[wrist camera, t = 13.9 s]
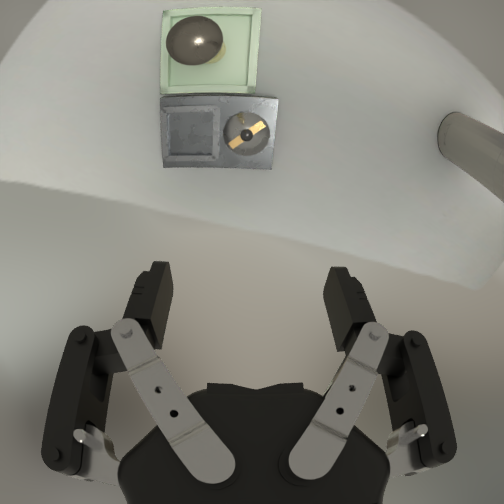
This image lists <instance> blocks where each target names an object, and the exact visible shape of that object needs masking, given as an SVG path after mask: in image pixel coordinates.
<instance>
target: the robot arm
mask: <svg viewBox="0 0 504 504" xmlns="http://www.w3.org/2000/svg"><path fill="white" fill-rule="evenodd" d="M438 143H439V148H440V151H441V153H442V154H443V155H444V157H445V158H447V159H448V160H450V161H451V162H453V163H454V164H455V165H457V166H458V167H459V168H461V169H462V170H464V171H465V172H466V173H468V174H469V175H470V176H472V177H473V178H474V179H476V180H477V181H478V182H480V183H481V184H482V185H483V186H485V187H486V188H487V189H488V190H490V191H491V192H492V193H493V194H494V195H495V196H497V197H498V198H499V199H500V200H501V201H503V202H504V134H503V133H501V132H499V131H497V130H495V129H494V128H492V127H490V126H488V125H486V124H483V123H481V122H479V121H477V120H475V119H473V118H471V117H468V116H466V115H464V114H461V113H457V112H456V113H451V114H449V115H448V116H447V117H446V118H445V119H444V120H443V122H442V124H441V126H440V129H439V133H438ZM172 297H173V281H172V276H171V270H170V265H169V262H162V261H154V262H153V263H152V266H151V269H150V271H143V273H141V274H140V275H139V277H138V278H137V279H136V282H135V285H134V288H133V290H132V294H131V296H130V298H129V301H128V304H127V307H126V310H125V313H124V316H123V318H122V319H121V320H119V321H118V322H116V323H115V324H114V325H113V327H112V329H109V330H104V331H98V332H94V331H93V330H92V329H91V328H90V327H88V326H79V327H77V328H75V329H74V330H72V332H71V333H70V335H69V337H68V340H67V343H66V346H65V349H64V352H63V356H62V359H61V362H60V365H59V369H58V372H57V376H56V380H55V383H54V387H53V391H52V395H51V400H50V405H49V409H48V413H47V419H46V423H45V429H44V435H43V441H42V448H41V455H42V458H43V461H44V463H45V464H46V465H47V466H48V467H49V468H50V469H52V470H55V471H57V472H60V473H62V474H64V475H66V476H70V477H73V478H76V479H82V480H86V481H99V482H102V483H106V484H110V485H115V486H120V488H121V490H122V492H123V494H124V496H125V498H126V501H127V504H382V501H383V495H384V491H385V488H386V485H387V482H388V480H389V479H390V478H393V477H397V476H401V475H405V476H411V475H414V474H417V473H420V472H423V471H426V470H429V469H431V468H434V467H437V466H439V465H442V464H444V463H447V462H449V461H450V460H451V459H452V458H453V457H454V455H455V453H456V450H457V443H456V438H455V434H454V429H453V425H452V420H451V416H450V412H449V409H448V405H447V401H446V398H445V394H444V391H443V387H442V384H441V381H440V378H439V375H438V372H437V369H436V366H435V363H434V360H433V357H432V354H431V352H430V349H429V346H428V343H427V341H426V339H425V337H424V336H423V335H422V334H421V333H419V332H417V331H408V332H407V333H406V334H405V335H404V336H399V335H394V334H390V333H388V331H387V329H386V328H385V327H384V326H382V325H381V324H380V323H377V321H376V319H375V316H374V314H373V311H372V309H371V306H370V304H369V302H368V300H367V296H366V294H365V291H364V289H363V287H362V284H361V283H360V282H359V281H358V280H357V279H356V278H355V277H350V274H349V272H348V269H347V268H346V267H331V268H330V271H329V274H328V277H327V280H326V283H325V286H324V291H323V298H324V302H325V306H326V310H327V313H328V317H329V321H330V325H331V329H332V333H333V337H334V340H335V345H336V349H337V352H339V351H345V354H346V356H345V358H344V360H343V362H342V363H341V365H340V367H339V369H338V370H337V372H336V374H335V376H334V378H333V379H332V381H331V383H330V384H329V386H328V388H327V389H326V391H325V392H324V394H323V395H320V394H318V393H316V392H314V391H311V390H307V389H304V388H303V383H284V384H277V385H273V386H269V387H266V388H262V389H258V390H255V389H250V388H245V387H241V386H237V385H233V384H218V383H207V389H203V390H200V391H197V392H194V393H192V394H191V395H189V396H187V397H186V396H185V394H184V393H183V391H182V390H181V388H180V387H179V386H178V384H177V383H176V381H175V380H174V378H173V377H172V375H171V374H170V372H169V370H168V369H167V368H166V366H165V364H164V363H163V361H162V360H161V358H160V357H158V356H157V354H156V352H155V351H154V350H155V349H162V343H163V339H164V333H165V329H166V324H167V319H168V315H169V310H170V306H171V301H172ZM123 371H128V374H129V376H130V378H131V380H132V382H133V384H134V386H135V387H136V389H137V391H138V393H139V395H140V396H141V398H142V400H143V402H144V403H145V405H146V407H147V409H148V410H149V412H150V413H151V415H152V417H153V419H154V420H155V421H156V423H157V426H156V427H154V428H153V429H152V430H151V431H150V432H149V433H148V434H147V435H146V436H145V437H144V438H143V439H142V440H141V441H140V442H139V443H138V444H136V445H135V446H134V447H133V448H132V449H131V450H130V451H129V452H128V453H127V454H126V455H125V456H124V457H123V458H122V460H121V461H119V460H118V459H117V457H116V455H115V452H114V444H113V442H112V440H111V438H110V437H109V436H108V435H106V434H105V433H104V432H105V424H106V417H107V409H108V403H109V396H110V390H111V385H112V378H113V374H114V373H117V372H123ZM377 374H381V375H382V379H383V384H384V389H385V393H386V398H387V403H388V408H389V413H390V418H391V424H392V429H393V432H392V433H391V434H390V435H389V437H388V440H387V450H386V452H384V451H383V450H382V449H381V448H380V447H378V445H376V444H375V443H374V442H373V441H372V440H371V439H369V438H368V437H367V436H366V435H365V434H364V433H363V432H362V431H361V430H359V429H358V428H357V427H356V426H355V425H354V424H355V422H356V420H357V418H358V416H359V414H360V412H361V410H362V408H363V406H364V404H365V402H366V399H367V397H368V395H369V393H370V390H371V389H372V386H373V384H374V381H375V379H376V377H377Z"/></svg>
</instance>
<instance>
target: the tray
mask: <svg viewBox="0 0 504 504" xmlns="http://www.w3.org/2000/svg"><path fill="white" fill-rule="evenodd" d="M261 10H262V8H247V7H201V8H185V9H175V10H166V11H163V20H162V36H161V64H160V94H175V93H203V92H223V93H251V94H255V86H256V72H257V59H258V47H259V34H260V22H261ZM191 16H204V17H207V18H210V19H212V20H213V21H215V22H216V23H217V24H218V26H219V27H220V29H221V31H222V33H223V42H224V43H225V46H226V52H225V55H224V56H223V58H222V59H221V60H219V61H218V62H216V63H211V64H207V63H204V64H201V65H184V64H181V63H178V62H176V61H175V60H174V59H173V58H172V57H171V56H170V55H169V53H168V51H167V49H166V38H167V35H168V33H169V31H170V29H171V28H172V27H173V26H174V25H175V24H176V23H177V22H179V21H180V20H182V19H184V18H187V17H191Z"/></svg>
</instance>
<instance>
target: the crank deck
mask: <svg viewBox="0 0 504 504" xmlns="http://www.w3.org/2000/svg"><path fill="white" fill-rule="evenodd" d="M160 106H161V110H160V115H161V140H162V158H163V168H172V167H213V168H246V169H266V170H271V169H272V160H273V150H274V140H275V130H276V120H277V110H278V98H275V97H262V96H245V95H179V96H164V97H162V98H160Z"/></svg>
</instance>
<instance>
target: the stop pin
mask: <svg viewBox="0 0 504 504" xmlns="http://www.w3.org/2000/svg"><path fill="white" fill-rule="evenodd" d="M166 49H167V51H168V53H169V55H170V56H171V57H172V58H173V59H174V60H175V61H176V62H178V63H181V64H184V65H201V64H204V63H207V64H211V63H216V62H218V61H219V60H221V59H222V58H223V56H224V55H225V52H226V46H225V43H224V42H223V33H222V31H221V29H220V27H219V26H218V24H217V23H216V22H215V21H213V20H212V19H210V18H207V17H204V16H191V17H187V18H184V19H182V20H180V21H179V22H177V23H176V24H175V25H174V26H173V27H172V28H171V29H170V31H169V33H168V35H167V38H166Z"/></svg>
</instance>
